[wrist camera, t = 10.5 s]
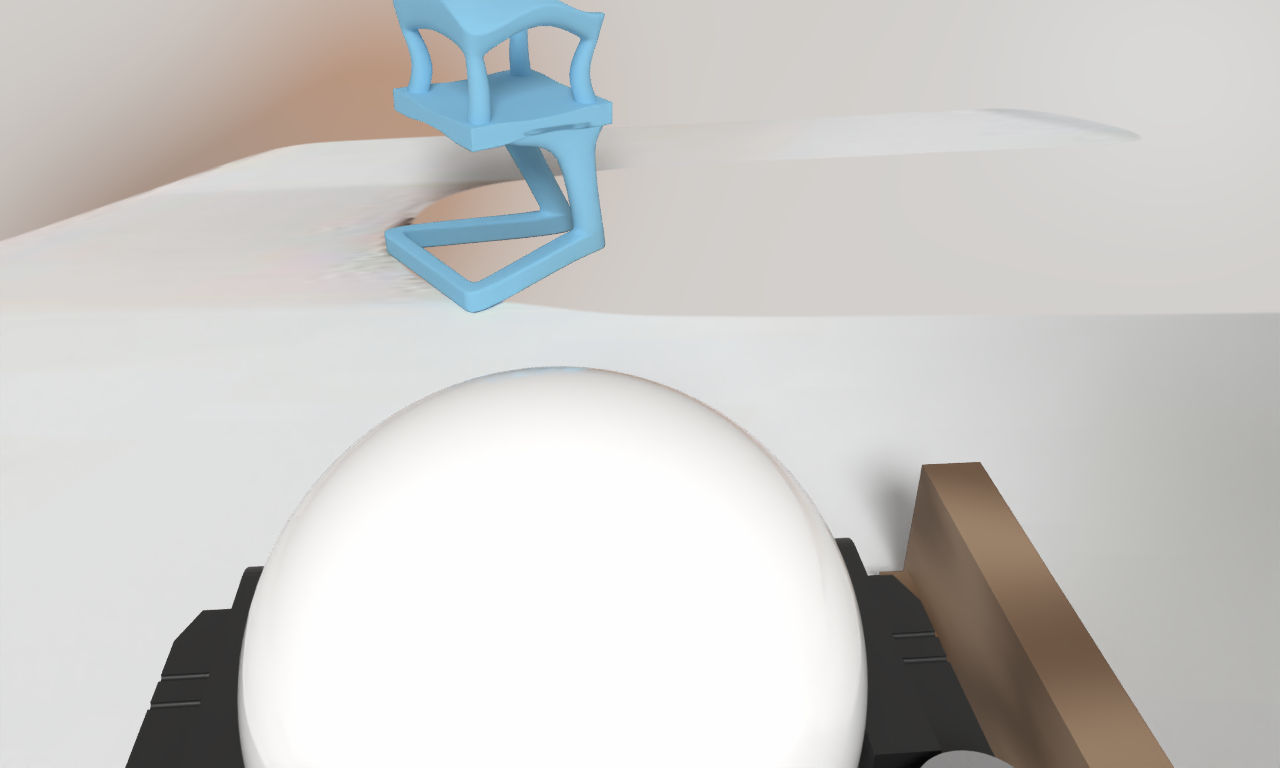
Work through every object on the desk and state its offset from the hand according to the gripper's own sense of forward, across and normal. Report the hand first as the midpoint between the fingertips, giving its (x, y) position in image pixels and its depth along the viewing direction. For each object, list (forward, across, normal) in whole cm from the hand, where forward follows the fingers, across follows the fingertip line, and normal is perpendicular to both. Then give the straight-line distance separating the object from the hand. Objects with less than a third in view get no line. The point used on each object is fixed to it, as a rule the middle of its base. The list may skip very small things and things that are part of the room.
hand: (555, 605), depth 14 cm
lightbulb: (-2, 0, +7) cm, 7 cm away
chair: (+33, +1, +10) cm, 35 cm away
